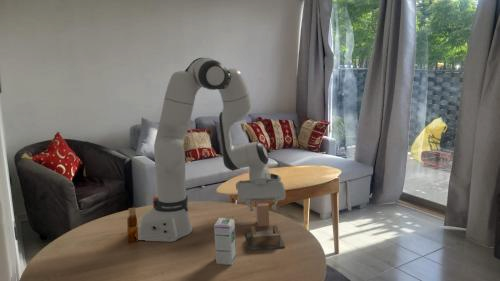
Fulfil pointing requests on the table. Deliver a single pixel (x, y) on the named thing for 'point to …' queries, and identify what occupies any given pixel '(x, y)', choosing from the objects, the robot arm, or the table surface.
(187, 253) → the table surface
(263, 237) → the stop cradle
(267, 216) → the block
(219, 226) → the syrup box
